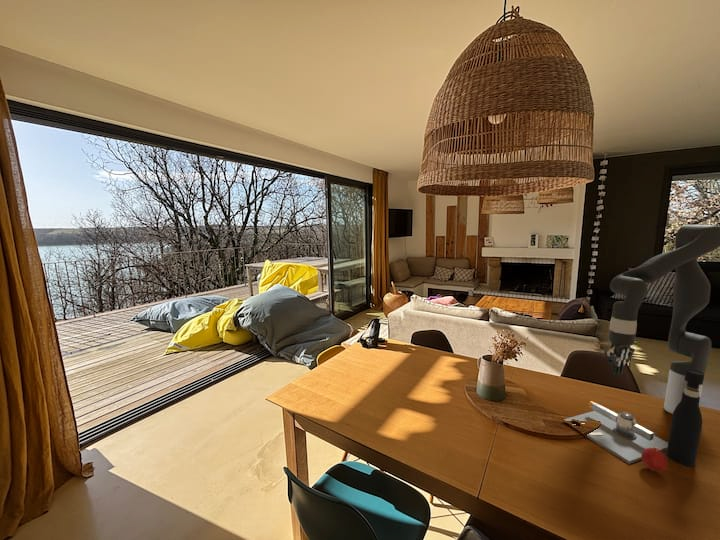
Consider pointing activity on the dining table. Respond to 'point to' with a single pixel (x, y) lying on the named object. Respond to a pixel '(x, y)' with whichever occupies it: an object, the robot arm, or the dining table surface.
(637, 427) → the silver knobbed bar
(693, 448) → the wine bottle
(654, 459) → the onion
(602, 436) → the board
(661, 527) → the dining table surface
